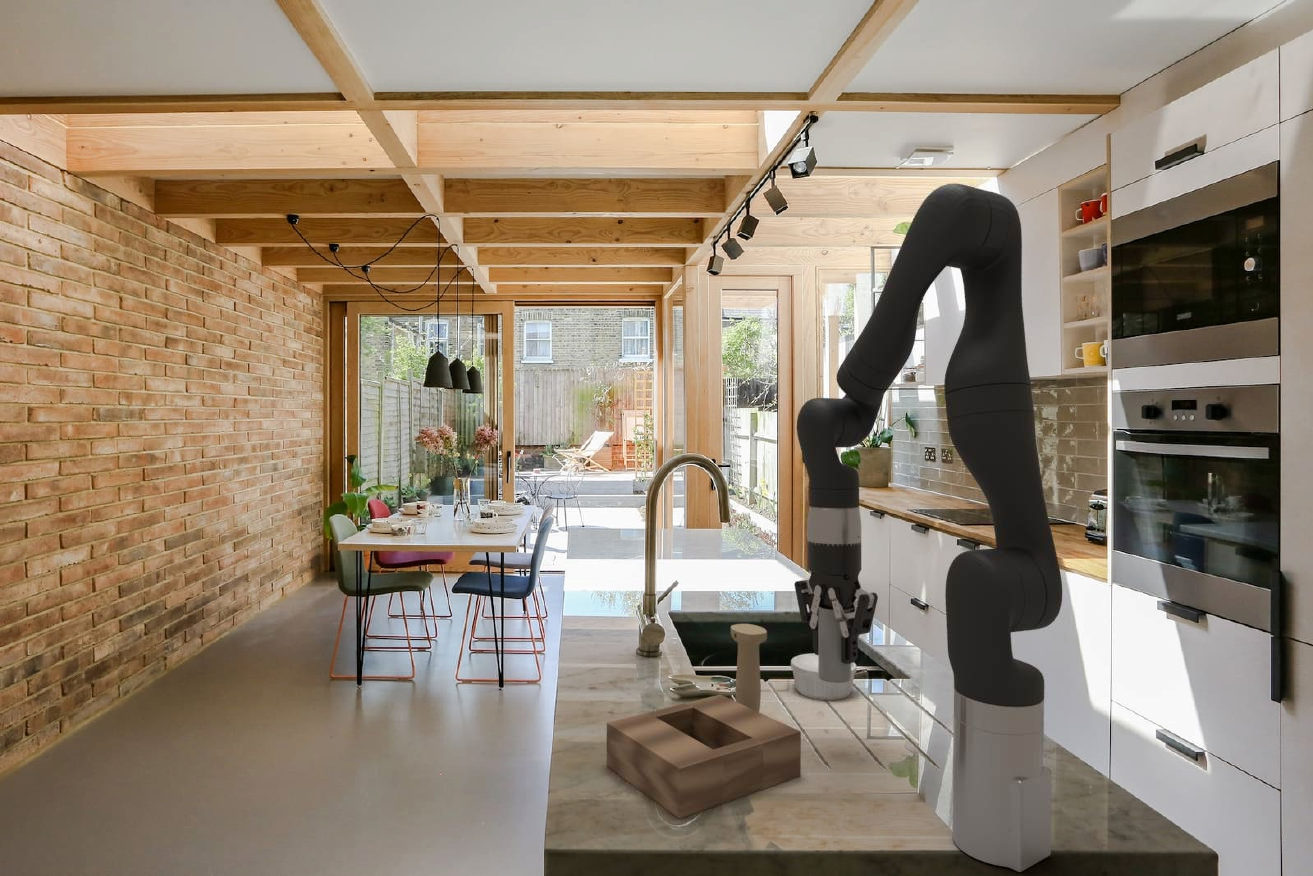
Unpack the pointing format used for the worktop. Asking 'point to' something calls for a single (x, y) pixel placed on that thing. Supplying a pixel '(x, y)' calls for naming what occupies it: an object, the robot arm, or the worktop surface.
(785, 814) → the worktop surface
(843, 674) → the grey cylinder
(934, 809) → the worktop surface
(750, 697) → the handle
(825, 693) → the ramekin
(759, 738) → the well block
